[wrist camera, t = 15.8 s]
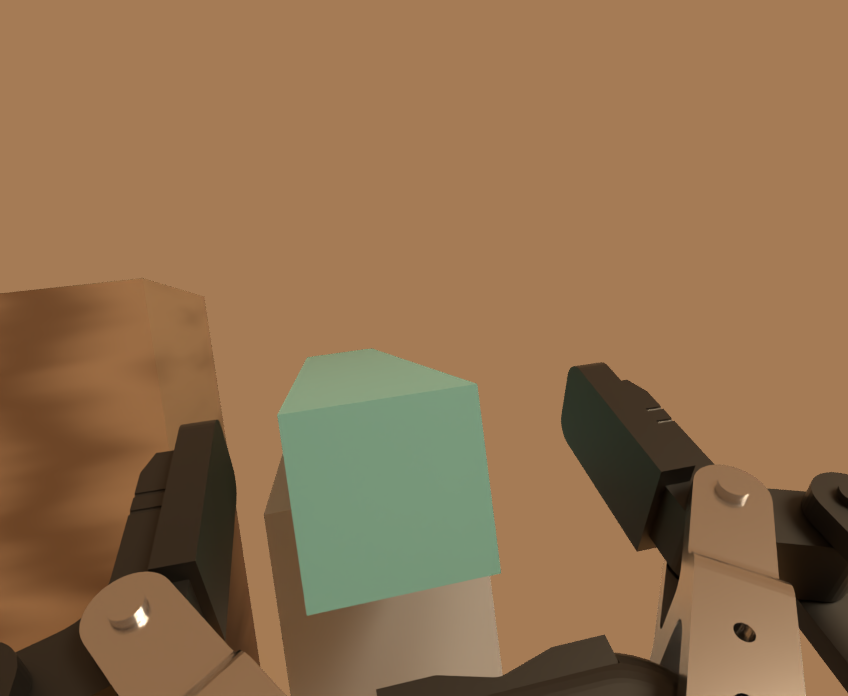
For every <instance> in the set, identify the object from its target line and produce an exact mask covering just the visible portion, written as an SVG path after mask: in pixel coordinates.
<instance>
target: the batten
mask: <svg viewBox="0 0 848 696" xmlns="http://www.w3.org/2000/svg"><path fill="white" fill-rule="evenodd" d="M278 422H279V429H280V436H281V442H282V450H283V456H284V463H285V470H286V477H287V484H288V491H289V497H290V504H291V511H292V518H293V525H294V532H295V539H296V545H297V552H298V559H299V566H300V573H301V580H302V586H303V593H304V600H305V607H306V614H307V616H309V615H313V614H318V613H322V612H327V611H331V610H336V609H340V608H345V607H350V606H354V605H359V604H363V603H368V602H372V601H377V600H381V599H386V598H391V597H395V596H400V595H404V594H409V593H413V592H418V591H423V590H427V589H432V588H436V587H441V586H445V585H450V584H454V583H459V582H464V581H468V580H473V579H477V578H482V577H486V576H491V575H495V574H500V573H501V570H500V562H499V554H498V546H497V538H496V530H495V523H494V514H493V506H492V498H491V491H490V483H489V474H488V467H487V459H486V451H485V443H484V435H483V428H482V419H481V411H480V404H479V395H478V387H477V384H476V383H473V382H470V381H467V380H464V379H461V378H458V377H455V376H452V375H449V374H446V373H443V372H440V371H437V370H434V369H431V368H428V367H425V366H422V365H419V364H416V363H413V362H410V361H407V360H404V359H401V358H399V357H396V356H393V355H390V354H387V353H383V352H380V351H378V350H375V349H365V350H357V351H350V352H344V353H336V354H328V355H321V356H314V357H308V358H307V359H306V361H305V363H304V365H303V367H302V369H301V370H300V372H299V374H298V376H297V378H296V380H295V382H294V384H293V386H292V388H291V390H290V392H289V394H288V396H287V398H286V400H285V402H284V403H283V405H282V407H281V409H280V411H279V413H278Z"/></svg>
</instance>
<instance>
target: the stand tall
mask: <svg viewBox="0 0 848 696" xmlns="http://www.w3.org/2000/svg"><path fill="white" fill-rule="evenodd" d="M216 419H218V420H219V422H220V424H221V427H222V430H223V434H224V438H225V431H224V425H223V418H222V411H221V405H220V398H219V392H218V385H217V378H216V372H215V365H214V359H213V352H212V345H211V339H210V332H209V326H208V319H207V313H206V306H205V300H204V297H203V296H200V295H197V294H194V293H190V292H187V291H184V290H180V289H177V288H174V287H170V286H167V285H163V284H160V283H157V282H154V281H150V280H147V279H144V278H139V279H130V280H121V281H111V282H102V283H93V284H84V285H75V286H66V287H56V288H47V289H39V290H28V291H19V292H10V293H1V294H0V642H2V643H4V644H7V645H9V646H10V647H11V648H12V649H13V650H14V651H15V652H17V651H19V650H21V649H24V648H26V647H28V646H30V645H32V644H34V643H36V642H39V641H41V640H43V639H45V638H47V637H49V636H51V635H54V634H56V633H58V632H60V631H62V630H64V629H65V628H67V627H69V626H70V625H72V624H74V623H75V622H77V621H78V620H79V619H80V618H82V615H83V613H84V611H85V609H86V608H87V606H88V604H89V603H90V602H91V601H92V599H93V598H94V597H95V596H96V595H97V594H98V593H99V592H100V591H101V590H102V589H104V588H105V587H106V586H108V584H109V581H110V579H111V575H112V571H113V568H114V564H115V561H116V557H117V554H118V550H119V547H120V543H121V539H122V536H123V532H124V529H125V525H126V522H127V518H128V515H130V507H131V504H132V500H133V498H135V494H134V493H135V490H136V486H137V482H138V479H139V475H140V472H141V471H142V470H143V469H144V467H145V466H146V465H147V464H148V462H149V461H150V460H151V459H152V457H153V456H154V455H155V454H156V453H159V452H166V451H172V450H174V448H175V444H176V439H177V435H178V430H179V427H180V425H182V424H189V423H195V422H202V421H209V420H216ZM225 441H226V438H225ZM226 445H227V444H226ZM224 642H225V643H226V644H227V645H228V646H229V647H230V648H231V649H232V650H233V651H235V652H237V651H238V650H242V651H244V652H245V653H246V654H248V655H249V656H250V657H251V658H252V659H253V660H254V661H255V662H256V663H257V664H258V665H259V667H260V662H259V656H258V649H257V642H256V636H255V629H254V623H253V617H252V610H251V603H250V596H249V589H248V583H247V576H246V570H245V563H244V557H243V550H242V543H241V537H240V530H239V524H238V517H237V511H235V524H234V537H233V550H232V563H231V576H230V589H229V601H228V614H227V627H226V640H225V641H224Z"/></svg>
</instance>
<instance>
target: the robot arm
mask: <svg viewBox="0 0 848 696" xmlns="http://www.w3.org/2000/svg"><path fill="white" fill-rule="evenodd" d="M561 424H562V430H563V434H564V437H565V439H566V441H567V443H568V445H569V446H570V448H571V449H572V451H573V453H574V454H575V456H576V457H577V459H578V460H579V462H580V463H581V465H582V467H583V468H584V470H585V471H586V473H587V474H588V476H589V477H590V479H591V480H592V482H593V483H594V485H595V487H596V488H597V490H598V491H599V493H600V495H601V496H602V498H603V499H604V501H605V502H606V504H607V505H608V507H609V509H610V510H611V512H612V513H613V515H614V516H615V518H616V519H617V521H618V523H619V524H620V526H621V527H622V529H623V530H624V532H625V534H626V535H627V537H628V538H629V540H630V541H631V543H632V544H633V546H634V547H635V549H636V551H642V550H647V549H651V548H656V547H657V548H658V550H659V551H660V553H661V554H662V556H663V557H664V559H665V561H664V564H663V568H662V577H661V587H660V595H659V603H658V612H657V620H656V629H655V638H654V644H653V649H652V653H651V657H650V660H647V659H643V658H640V657H636V656H633V655H627V654H621V653H614V652H613V650H612V648H611V646H610V645H609V642H608V640H607V639H606V636H605V635H601V636H597V637H593V638H589V639H585V640H580V641H576V642H572V643H568V644H564V645H559V646H555V647H552V648H550V649H548V650H546V651H545V652H543V653H541V654H539V655H538V656H536V657H535V658H533V659H531V660H529V661H528V662H526V663H524V664H522V665H521V666H519V667H517V668H515V669H514V670H512V671H510V672H509V673H507V674H505V675H503V676H500V677H473V676H446V675H434V676H430V677H426V678H421V679H417V680H413V681H409V682H405V683H400V684H396V685H392V686H388V687H384V688H380V689H376V693H377V696H806V692H805V683H804V673H803V664H802V655H801V645H800V636H799V629H800V630H801V631H802V633H803V634H804V635H805V636H806V638H807V639H808V641H809V642H810V643H811V644H812V646H813V647H814V648H815V650H816V651H817V652H818V654H819V655H820V656H821V658H822V659H823V660H824V662H825V663H826V664H827V666H828V667H829V668H830V670H831V671H832V672H833V674H834V675H835V676H836V678H837V679H838V680H839V682H840V683H841V684H842V686H843V687H844V688H845V690H846V691H847V692H848V475H847V474H842V473H834V472H829V473H823V474H819V475H817V476H816V477H815V478H813V480H812V482H811V484H810V486H809V488H808V490H807V492H803V491H791V490H779V489H767V488H766V487H765V486H764V485H763V484H762V483H761V482H760V481H759V480H758V479H757V478H755V477H754V476H752V475H751V474H749V473H747V472H745V471H743V470H740V469H738V468H735V467H731V466H726V465H714V464H713V462H712V461H711V460H710V459H709V458H708V457H707V456H706V455H705V454H704V453H703V452H702V451H701V449H700V448H699V447H698V446H697V445H696V444H695V443H694V442H693V441H692V440H691V439H690V437H688V435H687V434H686V433H685V432H684V431H683V430H682V429H681V428H680V427H679V426H678V424H677V423H676V422H675V421H672V420H671V417H670V416H669V415H668V414H667V413H666V411H665V410H664V409H661V408H660V405H659V404H658V403H657V402H656V401H655V400H654V399H653V397H652V396H651V395H650V394H649V393H648V392H647V391H645V390H644V389H642V388H640V387H638V386H637V385H635V384H633V383H631V382H630V381H628V380H623V381H621V380H620V379H619V378H618V377H617V376H616V375H615V373H614V372H613V371H612V370H611V369H610V368H609V367H608V366H607V365H606V364H605V363H602V362H601V363H594V364H588V365H580V366H574V367H571V368H570V370H569V372H568V377H567V384H566V390H565V396H564V403H563V409H562V417H561ZM134 494H135V498H133V500H132V504H131V507H130V515H128V518H127V522H126V525H125V529H124V532H123V536H122V539H121V543H120V547H119V550H118V554H117V557H116V561H115V564H114V568H113V571H112V575H111V579H110V581H109V584H108V586H106V587H105V588H104V589H102V590H101V591H100V592H99V593H98V594H97V595H96V596H95V597H94V598H93V599H92V601H91V602H90V603H89V604H88V606H87V608H86V609H85V611H84V613H83V615H82V618H80V619H79V620H78V621H77V622H75V623H74V624H72V625H70V626H69V627H67V628H65V629H64V630H62V631H60V632H58V633H56V634H54V635H51V636H49V637H47V638H45V639H43V640H41V641H39V642H36V643H34V644H32V645H30V646H28V647H26V648H24V649H21V650H19V651H17V652H15V651H14V650H13V649H12V648H11V647H10V646H9V645H7V644H4V643H2V642H0V696H286V695H285V694H284V693H283V692H282V691H281V689H280V688H279V687H278V686H277V685H276V684H275V683H274V682H273V681H272V680H271V678H270V677H269V676H268V675H267V674H266V673H265V672H264V671H263V670H262V669H261V668H260V667H259V665H258V664H257V663H256V662H255V661H254V660H253V659H252V658H251V657H250V656H249V655H248V654H246V653H245V652H244V651H242V650H238V651H237V652H235V651H233V650H232V649H231V648H230V647H229V646H228V645H227V644H226V643H225V642H224V641H225V640H226V627H227V614H228V601H229V589H230V576H231V563H232V550H233V537H234V524H235V511H236V481H235V475H234V470H233V467H232V463H231V459H230V456H229V452H228V448H227V445H226V441H225V438H224V434H223V430H222V427H221V424H220V422H219V420H218V419H216V420H209V421H202V422H195V423H189V424H182V425H180V427H179V430H178V435H177V439H176V444H175V448H174V450H172V451H166V452H159V453H156V454H155V455H154V456H153V457H152V459H151V460H150V461H149V462H148V464H147V465H146V466H145V467H144V469H143V470H142V471H141V472H140V475H139V479H138V482H137V486H136V490H135V493H134Z"/></svg>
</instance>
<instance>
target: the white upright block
mask: <svg viewBox="0 0 848 696" xmlns="http://www.w3.org/2000/svg"><path fill="white" fill-rule="evenodd" d="M264 519H265V525H266V532H267V539H268V546H269V552H270V559H271V566H272V572H273V579H274V586H275V592H276V599H277V606H278V613H279V619H280V626H281V633H282V640H283V645H284V653H285V660H286V666H287V673H288V680H289V687H290V693H291V696H377V693H376V689H380V688H384V687H388V686H392V685H396V684H400V683H405V682H409V681H413V680H417V679H421V678H426V677H430V676H434V675H446V676H473V677H500V676H503V675H502V667H501V659H500V652H499V644H498V637H497V628H496V620H495V612H494V605H493V597H492V589H491V581H490V576H486V577H482V578H477V579H473V580H468V581H464V582H459V583H454V584H450V585H445V586H441V587H436V588H432V589H427V590H423V591H418V592H413V593H409V594H404V595H400V596H395V597H391V598H386V599H381V600H377V601H372V602H368V603H363V604H359V605H354V606H350V607H345V608H340V609H336V610H331V611H327V612H322V613H318V614H313V615H309V616H307V614H306V607H305V600H304V593H303V586H302V580H301V573H300V566H299V559H298V552H297V545H296V539H295V532H294V525H293V518H292V511H291V504H290V497H289V491H288V484H287V477H286V470H285V463H284V456H283V454H282V458H281V461H280V464H279V467H278V471H277V474H276V477H275V481H274V484H273V487H272V490H271V493H270V497H269V500H268V503H267V506H266V510H265V513H264Z"/></svg>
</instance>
